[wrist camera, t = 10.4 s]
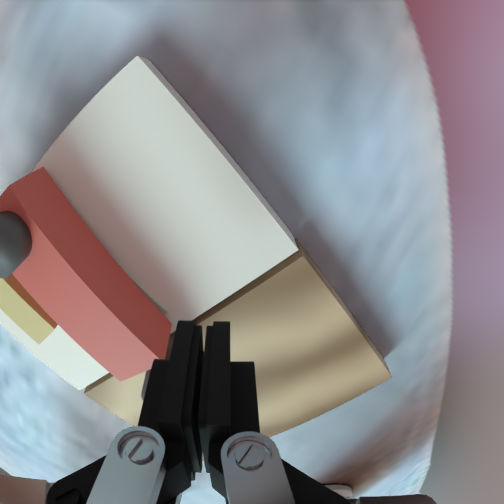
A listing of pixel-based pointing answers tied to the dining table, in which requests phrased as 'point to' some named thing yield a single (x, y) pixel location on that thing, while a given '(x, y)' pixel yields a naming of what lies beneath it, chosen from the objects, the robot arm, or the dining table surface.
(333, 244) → the dining table surface
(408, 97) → the dining table surface
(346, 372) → the tan wavy block
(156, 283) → the door
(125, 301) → the swing bar
